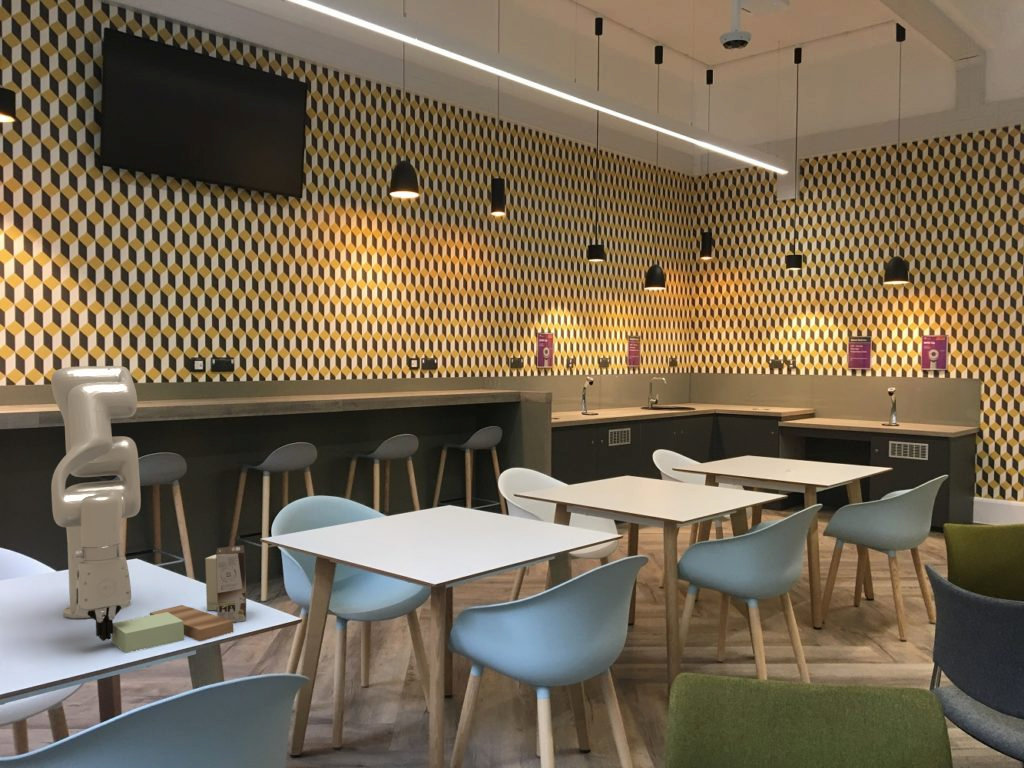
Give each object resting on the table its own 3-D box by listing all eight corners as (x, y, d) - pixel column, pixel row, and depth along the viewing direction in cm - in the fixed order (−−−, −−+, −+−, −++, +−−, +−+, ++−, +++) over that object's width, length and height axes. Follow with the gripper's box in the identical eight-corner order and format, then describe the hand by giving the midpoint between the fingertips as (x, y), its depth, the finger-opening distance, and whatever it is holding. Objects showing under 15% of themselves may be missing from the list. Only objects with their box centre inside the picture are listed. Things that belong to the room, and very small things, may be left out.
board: (150, 625, 202) (149, 612, 202) (182, 617, 208) (181, 604, 208) (200, 643, 188) (200, 629, 188) (233, 634, 194) (233, 620, 194)
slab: (111, 644, 189) (111, 623, 189) (168, 631, 197) (167, 611, 196) (126, 654, 181) (125, 633, 181) (184, 641, 189) (183, 621, 189)
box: (222, 611, 210) (220, 558, 210) (206, 610, 211) (204, 558, 211) (233, 605, 216) (232, 553, 215) (217, 604, 216) (215, 553, 216)
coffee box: (246, 621, 202) (244, 552, 201) (217, 624, 200) (215, 554, 199) (247, 610, 210) (244, 544, 210) (219, 613, 209) (216, 546, 208)
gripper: (67, 561, 177) (71, 650, 178) (143, 549, 187) (146, 634, 188) (58, 556, 183) (62, 642, 184) (132, 545, 193) (135, 627, 193)
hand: (104, 638), depth 186 cm, fingers closed
